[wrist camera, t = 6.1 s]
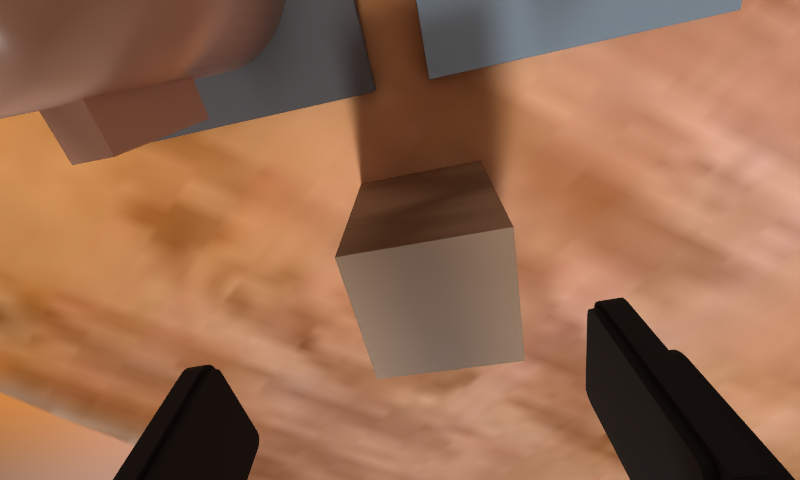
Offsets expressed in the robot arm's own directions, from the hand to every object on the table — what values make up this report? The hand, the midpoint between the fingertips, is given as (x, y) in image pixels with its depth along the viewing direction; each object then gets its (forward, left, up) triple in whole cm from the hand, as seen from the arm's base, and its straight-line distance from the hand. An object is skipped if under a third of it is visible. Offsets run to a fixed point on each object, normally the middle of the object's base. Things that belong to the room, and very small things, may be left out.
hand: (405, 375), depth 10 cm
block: (-1, 0, -8) cm, 8 cm away
